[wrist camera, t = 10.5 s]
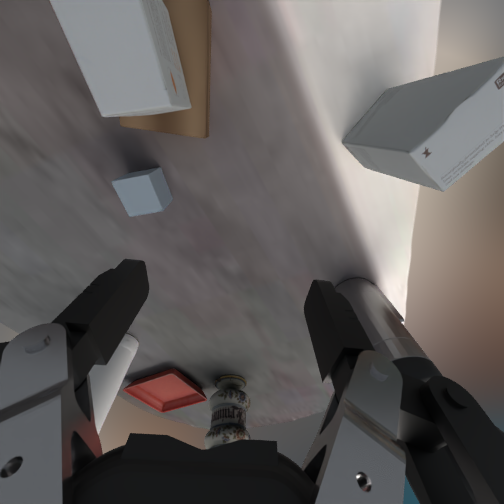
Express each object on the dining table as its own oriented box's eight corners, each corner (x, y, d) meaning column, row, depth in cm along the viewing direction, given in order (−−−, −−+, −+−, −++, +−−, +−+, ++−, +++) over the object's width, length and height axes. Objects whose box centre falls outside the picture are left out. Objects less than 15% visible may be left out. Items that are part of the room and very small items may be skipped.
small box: (111, 18, 20) (20, -57, 11) (169, 9, 20) (122, -72, 11) (145, 116, 24) (99, 118, 16) (193, 109, 25) (172, 107, 16)
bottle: (132, 330, 51) (23, 542, 25) (144, 349, 55) (60, 547, 30) (99, 333, 51) (-42, 547, 25) (113, 351, 55) (4, 551, 30)
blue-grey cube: (160, 166, 31) (147, 174, 27) (173, 199, 34) (163, 210, 30) (128, 172, 31) (111, 181, 27) (143, 204, 34) (129, 216, 30)
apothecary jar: (224, 368, 61) (218, 450, 46) (257, 379, 65) (261, 458, 50) (204, 385, 66) (192, 465, 51) (235, 395, 70) (233, 471, 55)
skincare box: (363, 167, 32) (440, 199, 20) (338, 140, 30) (406, 157, 17) (414, 116, 29) (546, 115, 16) (389, 81, 27) (520, 49, 14)
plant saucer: (126, 378, 63) (120, 391, 60) (175, 362, 59) (171, 374, 56) (165, 402, 72) (161, 413, 69) (209, 388, 68) (208, 400, 65)
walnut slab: (212, 13, 23) (207, -5, 20) (209, 136, 30) (205, 138, 26) (116, -7, 22) (93, -29, 19) (135, 125, 28) (120, 126, 25)
